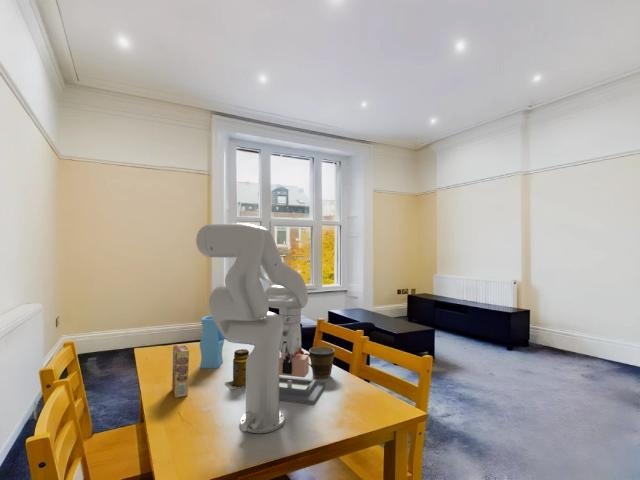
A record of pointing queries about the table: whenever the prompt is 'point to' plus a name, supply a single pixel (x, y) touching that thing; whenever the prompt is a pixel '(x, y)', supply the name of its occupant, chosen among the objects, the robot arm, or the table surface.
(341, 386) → the table surface
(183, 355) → the candy box
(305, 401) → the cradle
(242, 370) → the condiment
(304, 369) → the pink block with hole
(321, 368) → the ceramic cup
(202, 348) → the vase
